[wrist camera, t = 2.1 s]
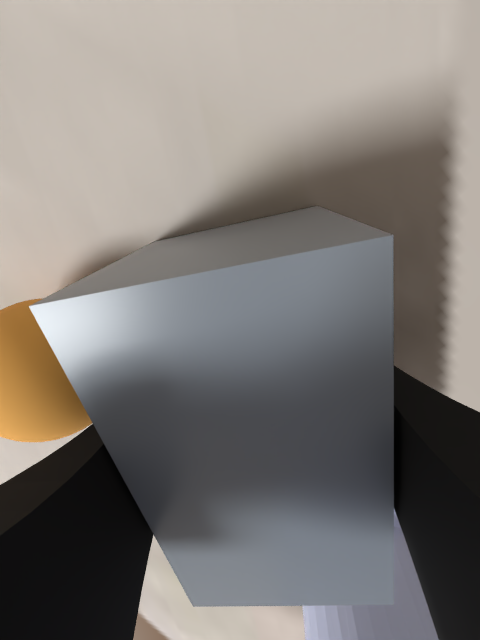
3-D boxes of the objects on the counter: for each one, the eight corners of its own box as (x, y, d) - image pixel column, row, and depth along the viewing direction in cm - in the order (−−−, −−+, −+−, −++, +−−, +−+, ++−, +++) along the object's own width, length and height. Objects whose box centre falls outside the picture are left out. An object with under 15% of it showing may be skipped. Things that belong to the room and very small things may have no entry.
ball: (168, 341, 13) (114, 428, 8) (101, 398, 14) (26, 497, 10) (73, 255, 11) (-54, 301, 7) (12, 328, 13) (-123, 406, 8)
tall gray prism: (340, 431, 14) (394, 604, 8) (220, 443, 15) (193, 606, 9) (317, 205, 10) (393, 234, 4) (154, 241, 11) (28, 306, 5)
